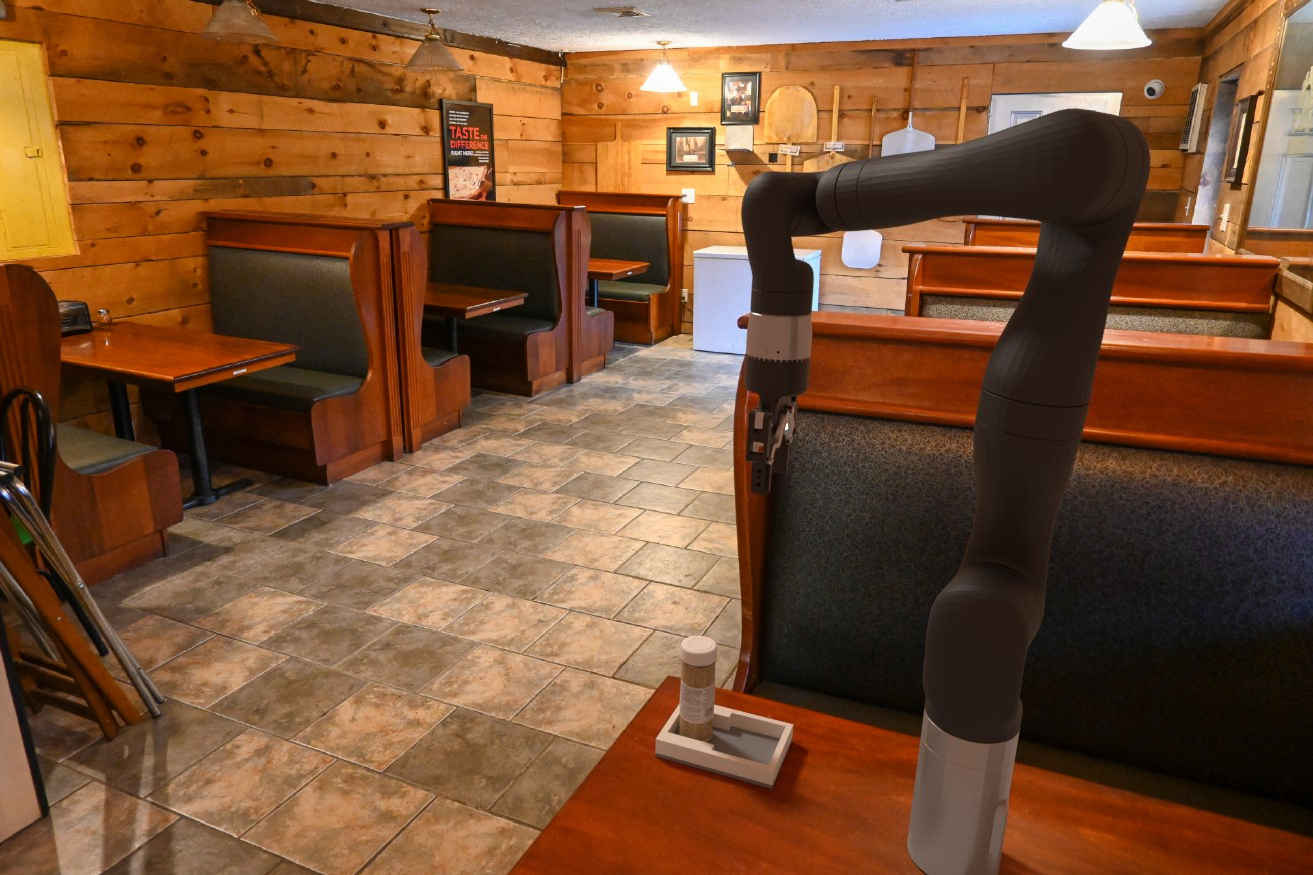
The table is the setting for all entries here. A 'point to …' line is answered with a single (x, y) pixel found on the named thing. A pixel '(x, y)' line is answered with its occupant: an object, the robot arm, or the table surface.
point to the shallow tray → (731, 746)
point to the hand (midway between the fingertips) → (769, 482)
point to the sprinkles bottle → (697, 688)
